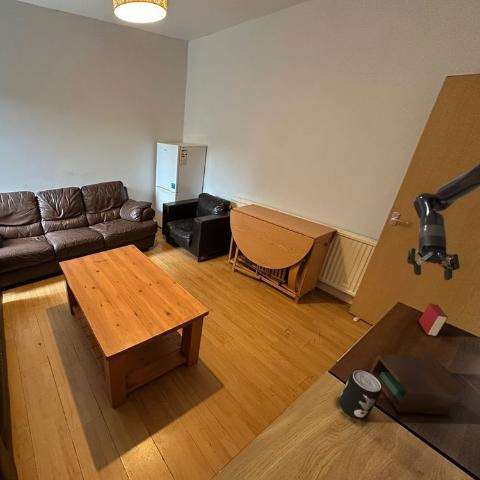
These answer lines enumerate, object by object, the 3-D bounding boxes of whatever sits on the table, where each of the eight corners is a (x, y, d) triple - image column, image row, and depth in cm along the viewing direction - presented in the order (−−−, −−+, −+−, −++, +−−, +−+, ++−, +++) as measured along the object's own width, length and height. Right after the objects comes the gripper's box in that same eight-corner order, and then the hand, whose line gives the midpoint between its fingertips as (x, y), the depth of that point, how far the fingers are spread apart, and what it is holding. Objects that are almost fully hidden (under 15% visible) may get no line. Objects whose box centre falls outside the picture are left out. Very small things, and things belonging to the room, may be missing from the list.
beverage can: (342, 417, 68) (356, 388, 62) (334, 394, 73) (347, 366, 68) (371, 425, 66) (388, 396, 61) (361, 401, 71) (376, 372, 66)
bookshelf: (409, 374, 79) (425, 348, 74) (446, 414, 68) (467, 388, 63) (368, 372, 79) (381, 346, 75) (398, 411, 69) (415, 385, 64)
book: (427, 323, 97) (438, 304, 93) (436, 336, 92) (448, 317, 88) (418, 321, 98) (428, 303, 94) (427, 334, 92) (438, 315, 89)
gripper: (414, 232, 101) (414, 271, 96) (463, 237, 95) (465, 279, 91) (404, 238, 107) (403, 275, 103) (449, 244, 102) (450, 283, 98)
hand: (432, 277), depth 97 cm, fingers open, 8 cm apart
